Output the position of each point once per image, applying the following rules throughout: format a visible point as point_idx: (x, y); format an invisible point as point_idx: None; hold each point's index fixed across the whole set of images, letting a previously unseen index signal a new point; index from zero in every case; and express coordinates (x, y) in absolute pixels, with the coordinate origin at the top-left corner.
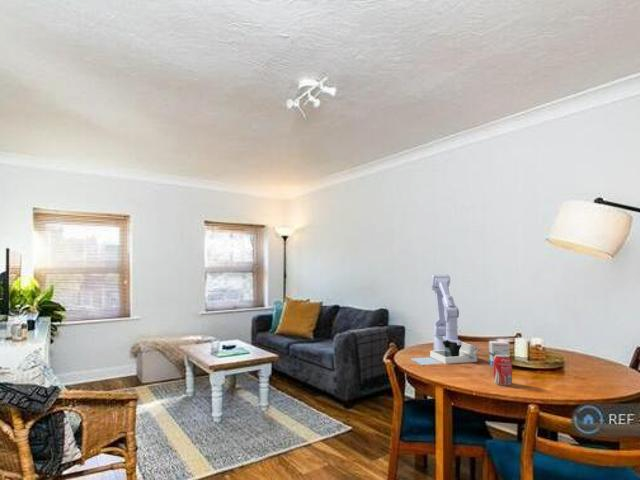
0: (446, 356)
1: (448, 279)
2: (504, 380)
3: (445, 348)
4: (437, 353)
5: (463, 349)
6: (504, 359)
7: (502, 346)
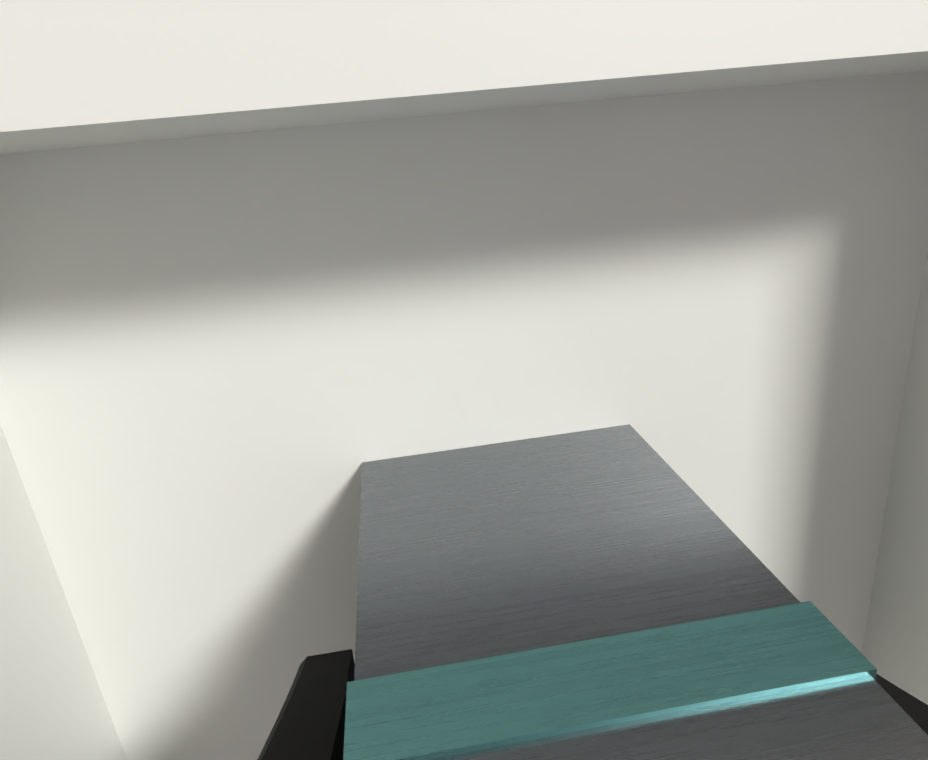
0: (555, 484)
1: None
2: None
3: (833, 744)
4: (711, 56)
5: None
6: None
7: None
